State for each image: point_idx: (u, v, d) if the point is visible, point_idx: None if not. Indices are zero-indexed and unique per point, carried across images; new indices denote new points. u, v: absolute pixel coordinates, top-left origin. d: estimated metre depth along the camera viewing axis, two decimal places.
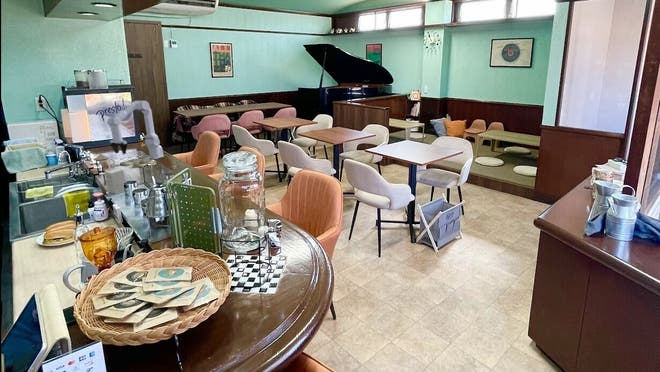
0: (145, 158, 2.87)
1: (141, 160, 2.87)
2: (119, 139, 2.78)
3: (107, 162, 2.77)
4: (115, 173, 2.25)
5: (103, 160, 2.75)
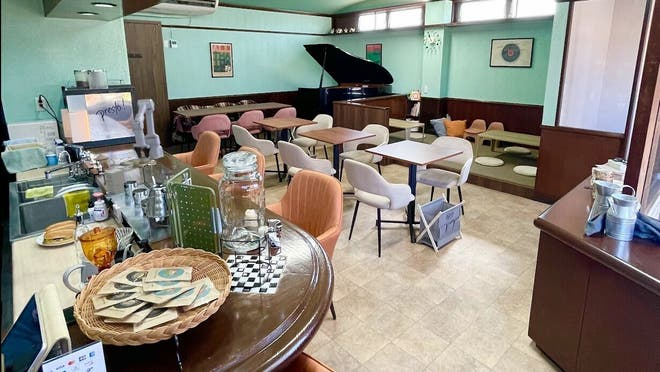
0: (145, 158, 2.87)
1: (141, 160, 2.87)
2: (142, 143, 2.83)
3: (107, 162, 2.77)
4: (115, 173, 2.25)
5: (103, 160, 2.75)
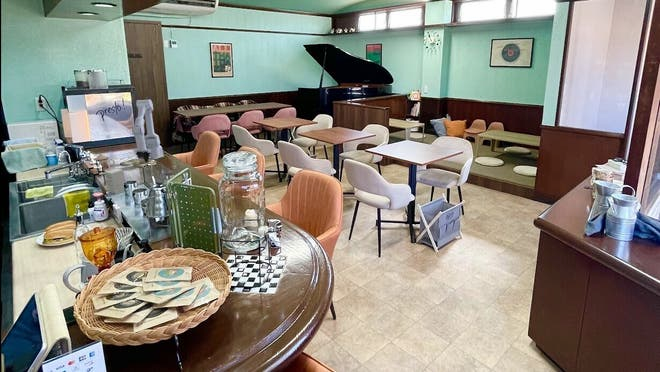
0: None
1: (141, 160, 2.87)
2: (143, 148, 2.85)
3: (107, 162, 2.77)
4: (115, 173, 2.25)
5: (103, 160, 2.75)
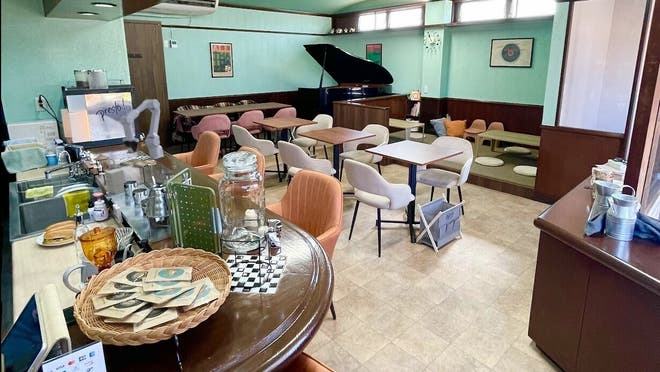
0: None
1: (129, 150, 2.89)
2: (131, 137, 2.87)
3: (107, 162, 2.77)
4: (115, 173, 2.25)
5: (103, 160, 2.75)
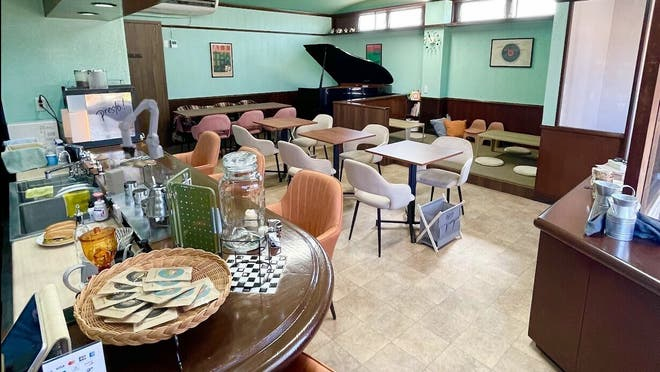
0: None
1: (127, 155, 2.92)
2: (129, 143, 2.90)
3: (107, 162, 2.77)
4: (115, 173, 2.25)
5: (103, 160, 2.75)
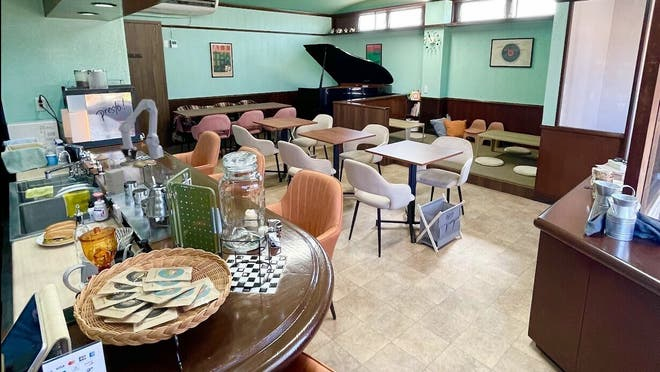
0: (131, 157, 2.93)
1: (128, 159, 2.93)
2: (129, 145, 2.90)
3: (107, 162, 2.77)
4: (115, 173, 2.25)
5: (103, 160, 2.75)
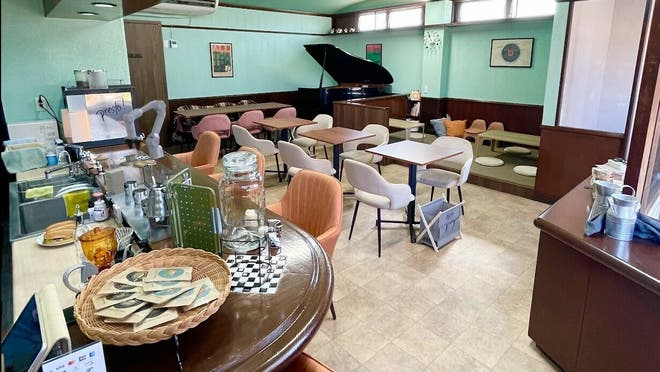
0: (131, 157, 2.93)
1: (128, 159, 2.93)
2: (133, 135, 2.91)
3: (107, 162, 2.77)
4: (115, 173, 2.25)
5: (103, 160, 2.75)
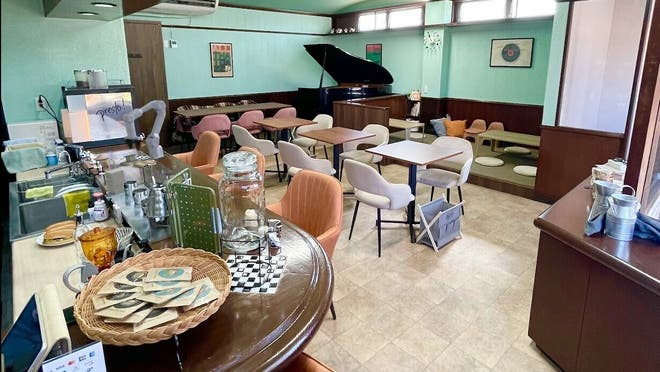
0: (131, 157, 2.93)
1: (128, 159, 2.93)
2: (133, 135, 2.91)
3: (107, 162, 2.77)
4: (115, 173, 2.25)
5: (103, 160, 2.75)
